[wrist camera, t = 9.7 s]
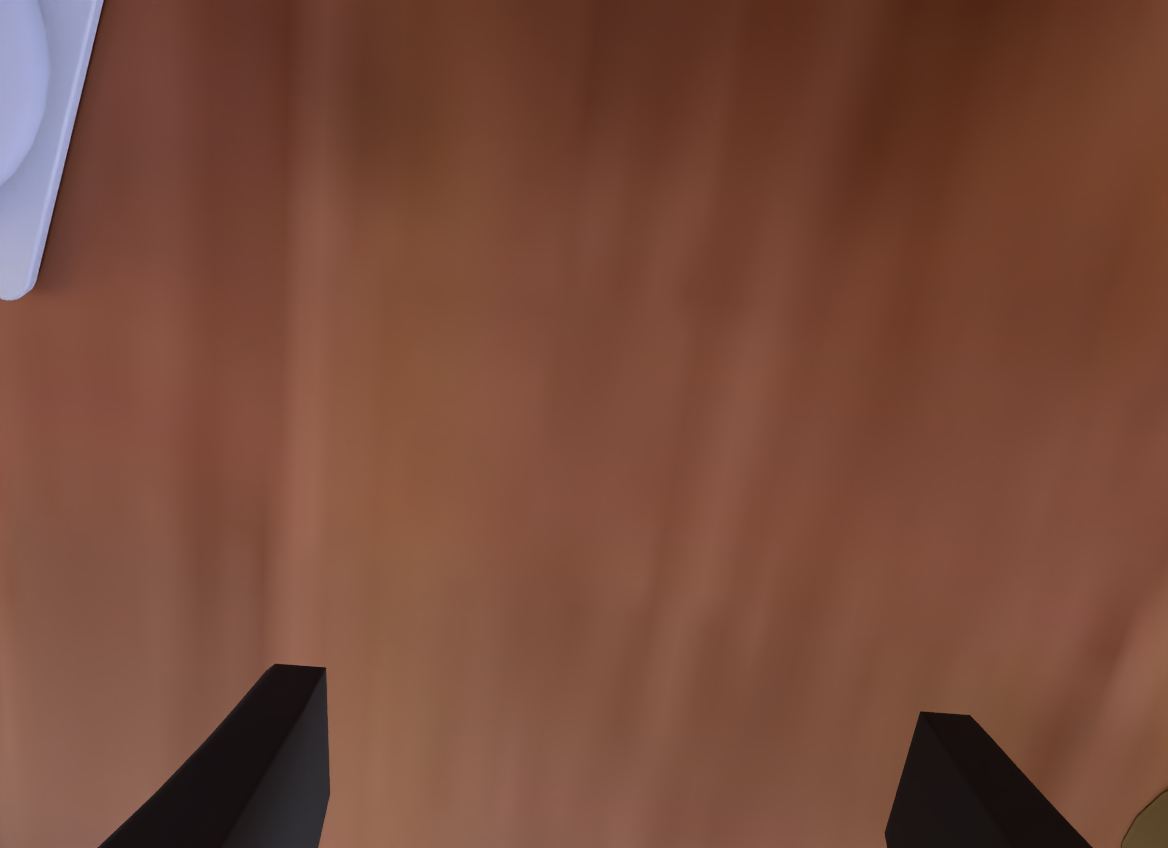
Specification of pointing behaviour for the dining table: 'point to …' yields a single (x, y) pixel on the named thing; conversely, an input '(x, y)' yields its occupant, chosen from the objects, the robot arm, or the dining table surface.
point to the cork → (1150, 826)
